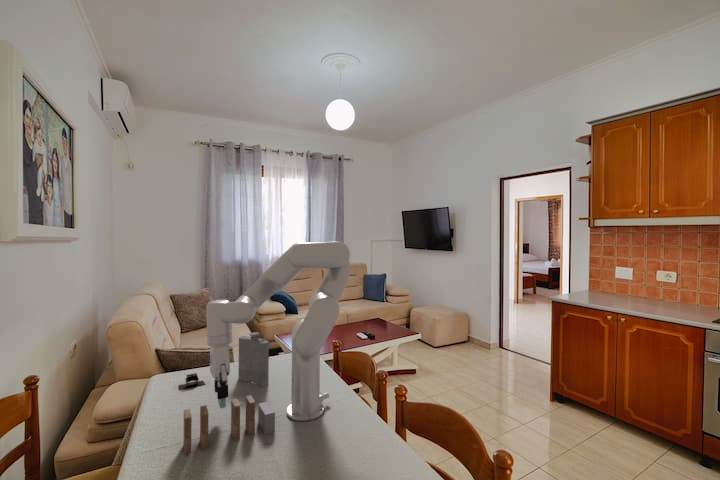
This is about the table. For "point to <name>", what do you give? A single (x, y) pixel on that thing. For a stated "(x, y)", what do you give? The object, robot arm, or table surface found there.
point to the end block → (266, 417)
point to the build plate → (192, 384)
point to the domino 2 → (204, 427)
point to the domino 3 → (221, 401)
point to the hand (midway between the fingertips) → (221, 393)
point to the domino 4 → (235, 419)
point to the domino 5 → (250, 415)
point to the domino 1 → (187, 431)
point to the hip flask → (254, 359)
